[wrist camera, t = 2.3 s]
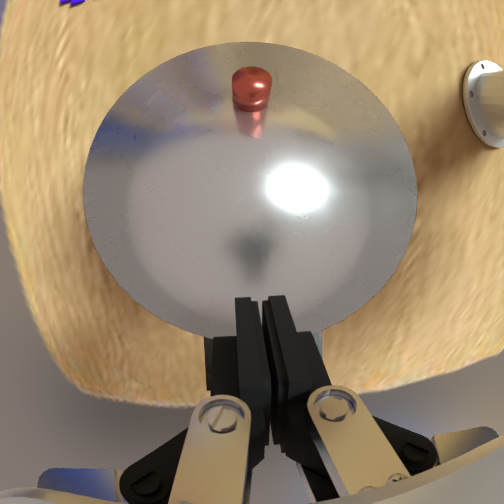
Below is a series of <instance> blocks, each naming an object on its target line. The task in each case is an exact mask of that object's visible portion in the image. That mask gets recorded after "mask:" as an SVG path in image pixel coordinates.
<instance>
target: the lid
mask: <svg viewBox="0 0 504 504" xmlns="http://www.w3.org/2000/svg"><path fill="white" fill-rule="evenodd" d="M83 197H84V210H85V215H86V220H87V226H88V229H89V232H90V235H91V238H92V240H93V243H94V246H95V248H96V250H97V252H98V254H99V256H100V258H101V259H102V261H103V263H104V265H105V267H106V268H107V270H108V271H109V272H110V274H111V275H112V276H113V278H114V279H115V280H116V281H117V283H118V284H119V285H120V286H121V287H122V288H123V289H124V290H125V291H126V292H127V293H128V294H129V295H130V296H131V297H132V298H133V299H134V300H135V301H136V302H137V303H138V304H140V305H141V306H143V307H144V308H145V309H147V310H148V311H150V312H151V313H152V314H154V315H155V316H157V317H158V318H160V319H162V320H164V321H166V322H168V323H170V324H172V325H174V326H176V327H178V328H180V329H182V330H185V331H188V332H191V333H194V334H197V335H200V336H203V337H204V350H205V368H206V384H207V390H211V372H212V349H213V337H219V336H237V335H236V316H235V298H237V297H251V301H258V307H259V313H260V319H261V325H262V301H263V300H268V296H276V295H285V297H286V300H287V303H288V306H289V309H290V312H291V315H292V318H293V321H294V325H295V328H296V331H297V332H302V331H311V333H312V334H313V337H314V340H315V342H316V345H317V347H318V350H319V353H320V355H321V358H322V336H321V330H323V329H325V328H328V327H330V326H332V325H334V324H336V323H338V322H341V321H342V320H344V319H345V318H347V317H348V316H350V315H351V314H353V313H354V312H356V311H357V310H359V309H360V308H362V307H363V306H364V305H365V304H366V303H367V302H368V301H369V300H371V299H372V298H373V297H374V296H375V295H376V294H377V293H378V292H379V291H380V290H381V289H382V287H383V286H384V285H385V284H386V283H387V281H388V280H389V279H390V278H391V276H392V275H393V274H394V272H395V270H396V268H397V267H398V265H399V263H400V262H401V260H402V258H403V256H404V254H405V252H406V249H407V247H408V244H409V241H410V239H411V236H412V232H413V228H414V223H415V219H416V210H417V183H416V175H415V170H414V165H413V160H412V157H411V154H410V151H409V148H408V145H407V143H406V140H405V138H404V136H403V134H402V132H401V130H400V128H399V126H398V125H397V123H396V122H395V120H394V118H393V117H392V115H391V114H390V112H389V111H388V110H387V108H386V107H385V106H384V105H383V104H382V102H381V101H380V100H379V99H378V98H377V96H375V95H374V94H373V93H372V92H371V91H370V90H369V89H368V88H367V87H366V86H365V85H364V84H363V83H362V82H360V81H359V80H358V79H356V78H355V77H354V76H352V75H351V74H350V73H348V72H347V71H345V70H343V69H342V68H340V67H339V66H337V65H335V64H333V63H331V62H329V61H327V60H325V59H323V58H321V57H319V56H316V55H314V54H311V53H308V52H305V51H303V50H299V49H296V48H292V47H288V46H283V45H277V44H270V43H260V42H236V43H225V44H218V45H212V46H208V47H204V48H200V49H196V50H193V51H190V52H187V53H185V54H182V55H179V56H177V57H175V58H173V59H171V60H169V61H167V62H165V63H163V64H161V65H159V66H157V67H156V68H154V69H153V70H151V71H150V72H148V73H147V74H145V75H144V76H143V77H141V78H140V79H139V80H138V81H136V82H135V83H134V84H133V85H132V86H130V87H129V88H128V89H127V90H126V92H125V93H124V94H123V95H122V96H121V97H120V98H119V99H118V100H117V101H116V103H115V104H114V105H113V106H112V108H111V109H110V110H109V112H108V113H107V115H106V116H105V118H104V120H103V121H102V123H101V125H100V127H99V128H98V130H97V133H96V135H95V137H94V140H93V142H92V145H91V147H90V151H89V154H88V158H87V162H86V166H85V174H84V183H83Z"/></svg>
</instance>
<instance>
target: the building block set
mask: <svg viewBox="0 0 504 504" xmlns="http://www.w3.org/2000/svg"><path fill="white" fill-rule="evenodd" d="M69 1H71V5H76V4H79V3H82V2H85V0H60V3H61V4H64V3H67V2H69Z"/></svg>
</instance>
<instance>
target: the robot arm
mask: <svg viewBox="0 0 504 504" xmlns="http://www.w3.org/2000/svg"><path fill="white" fill-rule="evenodd" d="M463 99H464V106H465V110H466V114H467V117H468V120H469V122H470V124H471V126H472V129H473V130H474V132H475V133H476V135H477V136H478V137H479V138H480V140H481V141H482V142H484V143H485V144H486V145H489V146H491V147H496V148H503V147H504V70H502V69H501V68H500V67H499V66H498V65H497V64H495V63H494V62H491V61H487V60H482V61H477V62H475V63H473V64H472V65H471V66H470V67H469V68H468V70H467V72H466V74H465V78H464V83H463ZM235 316H236V335H237V336H219V337H213V349H212V372H211V397H208V398H206V399H204V400H202V401H201V402H200V403H199V404H198V405H197V406H196V407H195V409H194V412H193V414H192V417H191V421H190V424H189V427H188V428H187V429H185V430H184V431H182V432H181V433H179V434H178V435H177V436H175V437H174V438H172V439H171V440H169V441H168V442H166V443H165V444H163V445H162V446H160V447H159V448H157V449H156V450H154V451H153V452H151V453H150V454H148V455H146V456H145V457H143V458H142V459H140V460H139V461H137V462H135V463H134V464H132V465H131V466H129V467H128V468H127V469H126V470H119V471H116V470H115V469H114V468H93V469H92V468H91V469H89V468H86V469H85V468H49V469H48V470H46V471H44V472H43V473H42V474H41V475H40V477H39V480H38V484H37V488H14V489H9V490H4V491H1V492H0V504H249V503H250V494H251V484H252V474H253V468H254V467H255V466H256V465H257V464H258V463H259V462H260V461H262V459H264V448H265V445H269V430H270V424H271V431H272V437H273V442H274V445H277V444H280V447H281V453H286V456H287V457H289V458H291V459H292V460H294V461H296V466H297V469H298V472H299V474H300V477H301V479H302V482H303V484H304V487H305V489H306V491H307V494H308V496H309V499H310V501H311V503H310V504H504V435H503V436H500V437H499V436H498V434H497V432H496V431H494V430H493V429H492V428H489V427H487V426H485V427H476V428H472V429H467V430H462V431H457V432H451V433H446V434H439V435H434V436H433V437H432V438H431V439H428V438H426V437H424V436H422V435H420V434H417V433H415V432H412V431H409V430H406V429H404V428H401V427H399V426H396V425H394V424H391V423H389V422H386V421H384V420H382V419H379V418H377V417H374V416H372V415H371V414H370V412H369V411H368V409H367V408H366V406H365V405H364V403H363V402H362V400H361V399H360V397H359V396H358V395H357V394H356V393H355V392H354V391H352V390H350V389H349V388H346V387H343V386H337V385H332V384H331V382H330V379H329V376H328V374H327V371H326V368H325V366H324V363H323V360H322V358H321V355H320V353H319V350H318V347H317V345H316V342H315V340H314V337H313V334H312V333H311V331H302V332H297V331H296V328H295V325H294V321H293V318H292V315H291V312H290V309H289V306H288V303H287V300H286V297H285V295H276V296H268V300H263V301H262V325H261V319H260V313H259V307H258V301H251V297H237V298H235Z"/></svg>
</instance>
